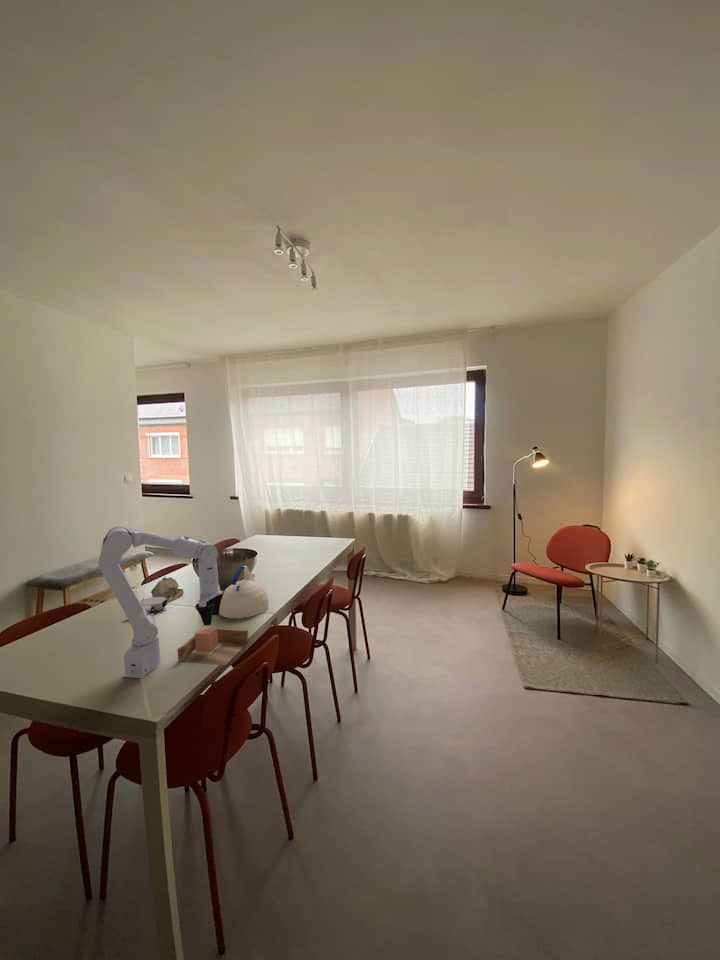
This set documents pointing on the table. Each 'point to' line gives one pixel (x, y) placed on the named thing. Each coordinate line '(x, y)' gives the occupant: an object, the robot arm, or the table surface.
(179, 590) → the ceramic model
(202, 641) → the cube
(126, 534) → the robot arm
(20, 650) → the table surface
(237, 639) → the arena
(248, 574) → the kettle
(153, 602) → the robot toy
